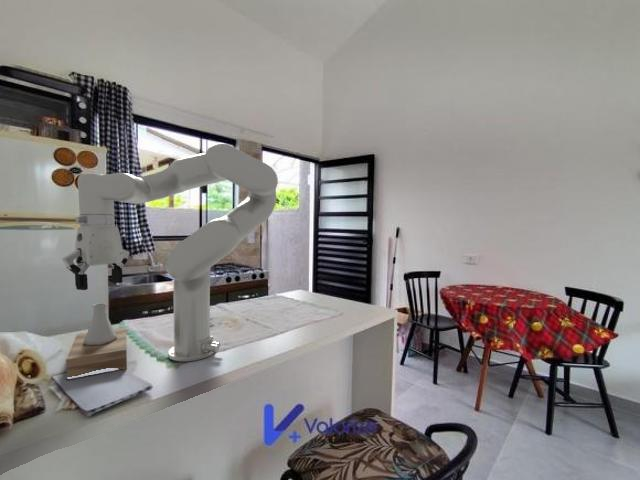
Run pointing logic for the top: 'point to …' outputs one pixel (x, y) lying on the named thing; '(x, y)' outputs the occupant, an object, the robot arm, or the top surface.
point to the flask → (100, 327)
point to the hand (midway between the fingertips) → (100, 285)
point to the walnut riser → (97, 355)
